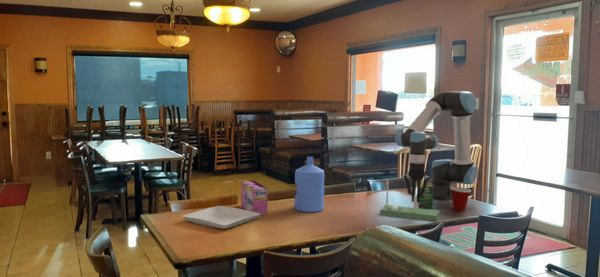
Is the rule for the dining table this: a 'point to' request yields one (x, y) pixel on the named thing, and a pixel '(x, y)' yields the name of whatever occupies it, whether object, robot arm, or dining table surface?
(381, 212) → the putting mat
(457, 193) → the plastic cup
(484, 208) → the dining table surface
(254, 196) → the gum box
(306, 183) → the water jug
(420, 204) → the coffee box
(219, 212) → the square plate
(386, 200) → the flag pin
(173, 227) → the dining table surface
